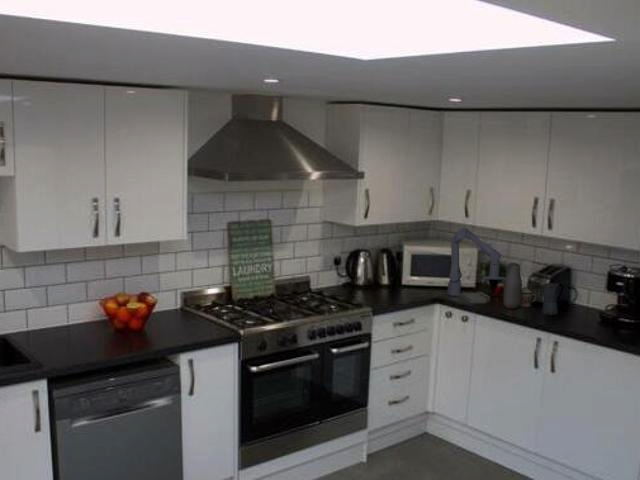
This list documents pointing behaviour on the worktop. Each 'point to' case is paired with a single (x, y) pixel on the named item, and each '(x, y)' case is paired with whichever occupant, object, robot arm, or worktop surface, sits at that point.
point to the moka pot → (550, 297)
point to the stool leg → (484, 296)
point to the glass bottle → (512, 286)
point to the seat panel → (473, 297)
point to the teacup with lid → (526, 297)
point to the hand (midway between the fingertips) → (492, 291)
